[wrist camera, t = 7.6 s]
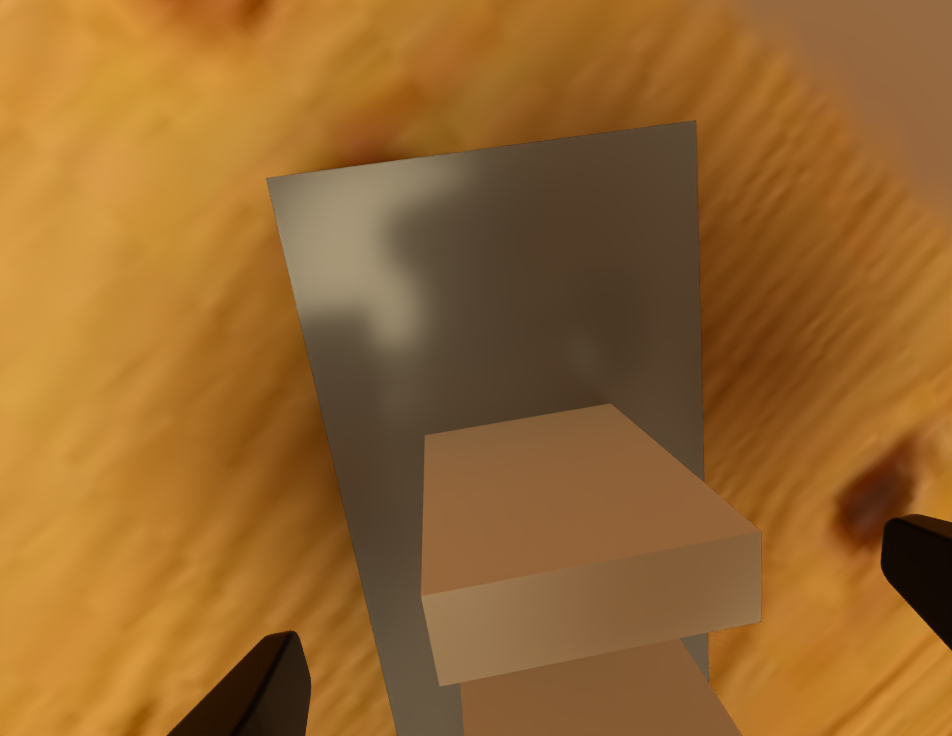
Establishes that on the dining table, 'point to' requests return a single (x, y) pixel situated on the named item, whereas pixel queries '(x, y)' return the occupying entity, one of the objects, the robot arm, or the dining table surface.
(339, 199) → the metal plate
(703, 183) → the dining table surface
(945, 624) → the robot arm
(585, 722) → the domino
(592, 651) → the domino
